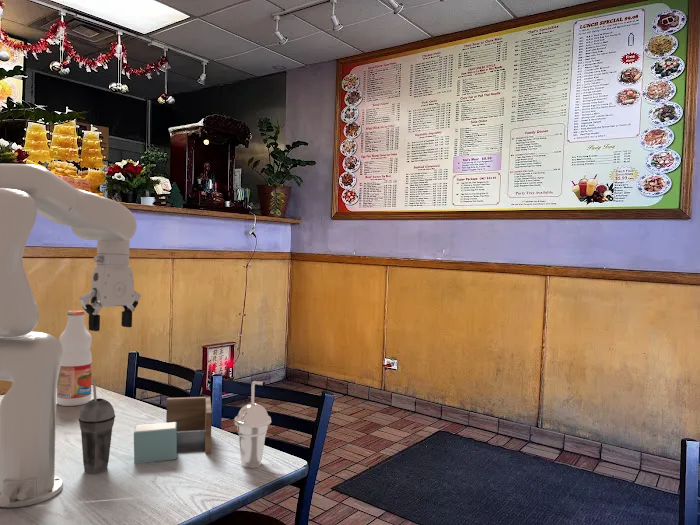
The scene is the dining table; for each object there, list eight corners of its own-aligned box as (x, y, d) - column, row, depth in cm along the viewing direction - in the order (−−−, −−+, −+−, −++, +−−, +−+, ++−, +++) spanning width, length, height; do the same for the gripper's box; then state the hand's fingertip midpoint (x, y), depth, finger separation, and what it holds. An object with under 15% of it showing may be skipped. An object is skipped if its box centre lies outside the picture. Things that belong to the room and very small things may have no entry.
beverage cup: (121, 466, 121) (123, 376, 120) (98, 479, 114) (100, 384, 113) (93, 462, 123) (95, 373, 122) (69, 474, 116) (71, 380, 115)
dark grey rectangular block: (205, 451, 131) (205, 435, 131) (172, 454, 129) (172, 437, 129) (204, 445, 135) (205, 429, 135) (173, 447, 133) (173, 431, 133)
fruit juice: (61, 398, 171) (63, 309, 170) (94, 397, 173) (96, 309, 172) (52, 407, 161) (54, 312, 161) (87, 406, 164) (89, 313, 163)
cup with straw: (269, 456, 130) (272, 372, 129) (270, 472, 121) (273, 382, 120) (233, 457, 128) (235, 372, 128) (231, 473, 119) (233, 382, 119)
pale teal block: (176, 459, 125) (175, 428, 125) (134, 463, 123) (133, 432, 123) (176, 451, 130) (176, 421, 130) (136, 455, 128) (136, 424, 127)
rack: (210, 454, 130) (211, 412, 129) (162, 457, 127) (164, 414, 127) (209, 434, 143) (210, 396, 143) (166, 436, 140) (167, 398, 140)
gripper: (92, 261, 129) (90, 333, 129) (150, 262, 144) (148, 326, 144) (72, 260, 132) (70, 330, 133) (130, 261, 148) (128, 324, 148)
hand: (110, 328), depth 138 cm, fingers open, 9 cm apart
